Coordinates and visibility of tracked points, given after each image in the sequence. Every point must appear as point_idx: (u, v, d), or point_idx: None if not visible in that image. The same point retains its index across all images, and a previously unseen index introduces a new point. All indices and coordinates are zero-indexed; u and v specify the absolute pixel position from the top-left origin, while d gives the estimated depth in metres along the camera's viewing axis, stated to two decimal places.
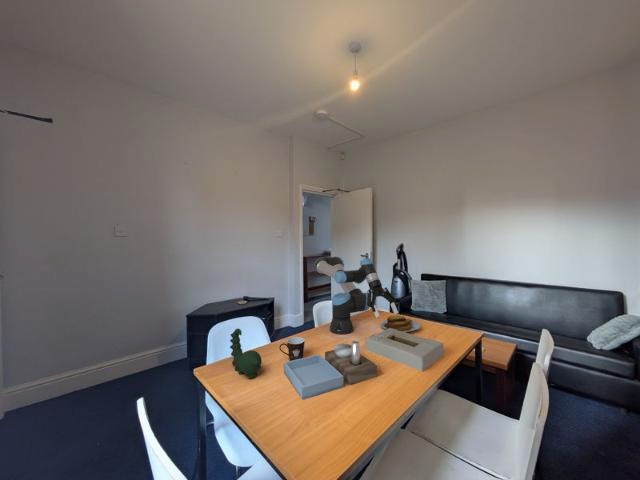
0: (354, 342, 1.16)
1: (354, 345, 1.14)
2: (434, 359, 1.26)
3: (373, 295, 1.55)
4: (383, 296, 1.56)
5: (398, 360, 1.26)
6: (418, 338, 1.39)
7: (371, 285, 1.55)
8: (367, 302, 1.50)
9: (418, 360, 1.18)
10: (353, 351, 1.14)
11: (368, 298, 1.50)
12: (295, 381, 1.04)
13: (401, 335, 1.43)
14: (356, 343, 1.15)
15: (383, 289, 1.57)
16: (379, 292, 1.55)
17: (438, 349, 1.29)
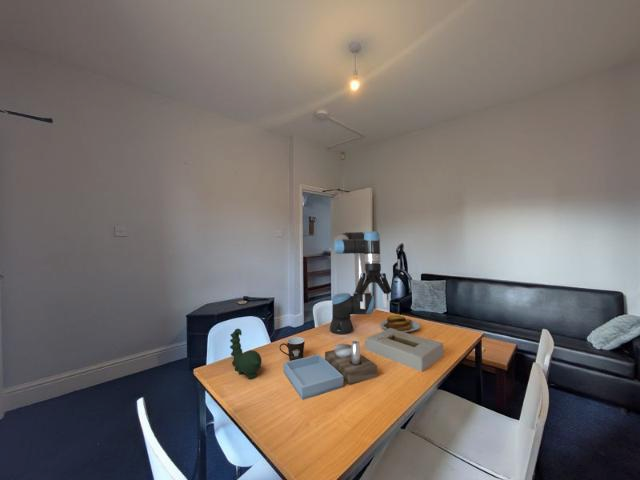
0: (354, 342, 1.16)
1: (354, 345, 1.14)
2: (434, 359, 1.26)
3: (366, 280, 1.26)
4: (377, 283, 1.28)
5: (398, 360, 1.26)
6: (418, 338, 1.38)
7: (368, 269, 1.24)
8: (356, 288, 1.22)
9: (418, 360, 1.18)
10: (353, 351, 1.14)
11: (359, 284, 1.22)
12: (295, 381, 1.04)
13: (401, 335, 1.42)
14: (356, 343, 1.15)
15: (380, 275, 1.27)
16: (374, 278, 1.25)
17: (438, 349, 1.29)
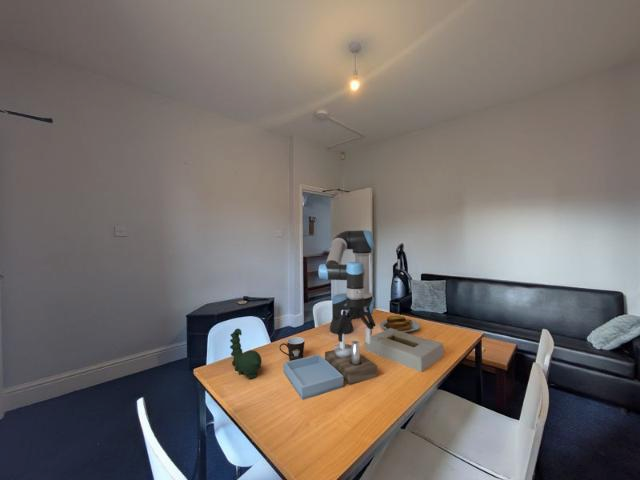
0: (354, 342, 1.16)
1: (354, 345, 1.14)
2: (434, 359, 1.25)
3: (347, 316, 1.15)
4: (360, 317, 1.17)
5: (397, 360, 1.26)
6: (418, 338, 1.38)
7: (350, 305, 1.12)
8: (335, 327, 1.11)
9: (417, 360, 1.18)
10: (353, 351, 1.14)
11: (338, 322, 1.11)
12: (295, 381, 1.04)
13: (401, 336, 1.42)
14: (356, 343, 1.15)
15: (363, 310, 1.16)
16: (356, 315, 1.14)
17: (438, 349, 1.28)
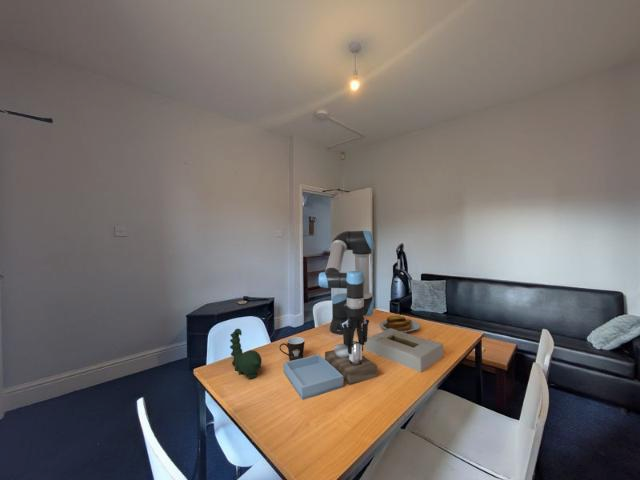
0: (354, 342, 1.16)
1: (354, 345, 1.14)
2: (434, 359, 1.25)
3: None
4: (357, 328, 1.16)
5: (397, 360, 1.25)
6: (418, 339, 1.38)
7: (350, 315, 1.12)
8: (343, 340, 1.13)
9: (417, 360, 1.18)
10: None
11: (344, 336, 1.13)
12: (295, 381, 1.04)
13: (401, 336, 1.42)
14: (356, 343, 1.15)
15: (363, 320, 1.16)
16: (356, 324, 1.14)
17: (438, 350, 1.28)
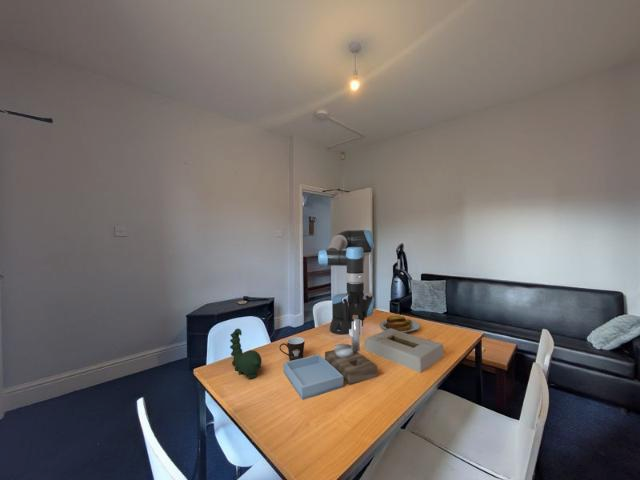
0: (354, 318, 1.16)
1: (354, 320, 1.14)
2: (434, 360, 1.25)
3: (349, 302, 1.15)
4: (356, 304, 1.16)
5: (397, 361, 1.25)
6: (418, 339, 1.38)
7: (350, 290, 1.12)
8: (343, 315, 1.13)
9: (416, 361, 1.17)
10: None
11: (344, 311, 1.12)
12: (295, 381, 1.04)
13: (401, 336, 1.42)
14: (355, 318, 1.15)
15: (363, 296, 1.16)
16: (356, 299, 1.14)
17: (438, 350, 1.28)
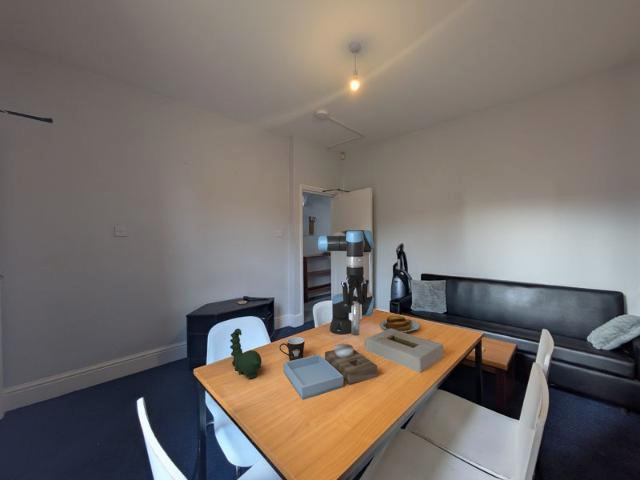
0: (354, 302, 1.15)
1: (354, 304, 1.13)
2: (433, 360, 1.25)
3: (349, 286, 1.15)
4: (356, 288, 1.16)
5: (396, 361, 1.25)
6: (418, 339, 1.37)
7: (349, 273, 1.12)
8: (343, 299, 1.13)
9: (416, 361, 1.17)
10: None
11: (344, 295, 1.12)
12: (295, 381, 1.04)
13: (401, 336, 1.42)
14: (355, 302, 1.14)
15: (363, 280, 1.15)
16: (356, 283, 1.14)
17: (438, 350, 1.27)
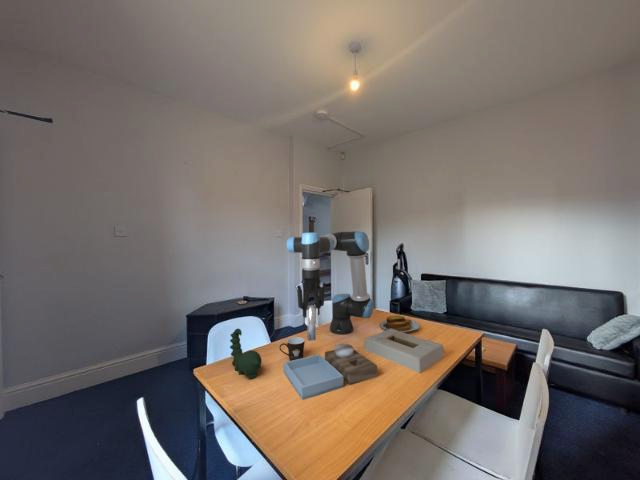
0: (310, 306, 1.11)
1: (309, 308, 1.09)
2: (433, 360, 1.24)
3: (305, 289, 1.11)
4: (313, 292, 1.12)
5: (396, 361, 1.25)
6: (418, 339, 1.37)
7: (304, 276, 1.08)
8: (298, 303, 1.09)
9: (416, 361, 1.17)
10: None
11: (298, 298, 1.08)
12: (295, 381, 1.04)
13: (401, 336, 1.42)
14: (311, 306, 1.10)
15: (319, 283, 1.12)
16: (312, 286, 1.10)
17: (438, 350, 1.27)
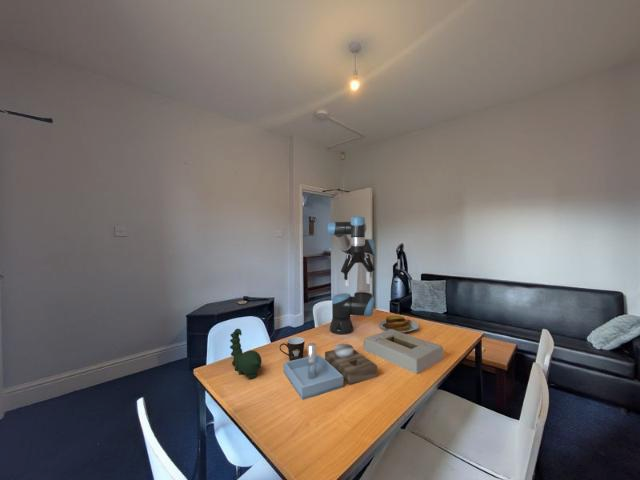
0: (310, 344, 1.11)
1: (309, 347, 1.10)
2: (432, 362, 1.23)
3: (351, 260, 1.40)
4: (362, 262, 1.43)
5: (394, 361, 1.24)
6: (418, 340, 1.36)
7: (353, 251, 1.38)
8: (342, 268, 1.37)
9: (413, 362, 1.16)
10: (309, 353, 1.10)
11: (344, 264, 1.37)
12: (295, 381, 1.04)
13: (401, 337, 1.41)
14: (311, 345, 1.11)
15: (365, 256, 1.41)
16: (359, 259, 1.40)
17: (437, 352, 1.26)
